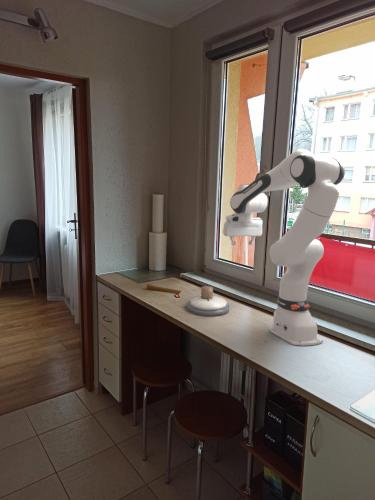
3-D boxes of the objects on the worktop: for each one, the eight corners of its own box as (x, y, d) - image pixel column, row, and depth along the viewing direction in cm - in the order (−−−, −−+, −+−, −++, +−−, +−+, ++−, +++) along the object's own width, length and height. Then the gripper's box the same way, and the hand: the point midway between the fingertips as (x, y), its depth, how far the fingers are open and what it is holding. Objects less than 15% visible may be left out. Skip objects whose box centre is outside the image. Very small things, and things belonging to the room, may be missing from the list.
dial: (222, 298, 186) (223, 286, 185) (229, 310, 169) (230, 296, 168) (188, 298, 184) (189, 285, 183) (193, 310, 167) (193, 296, 166)
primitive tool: (181, 291, 203) (181, 285, 202) (179, 294, 198) (179, 288, 197) (147, 289, 206) (147, 283, 205) (144, 292, 201) (144, 285, 200)
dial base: (235, 314, 170) (236, 310, 170) (194, 317, 165) (194, 312, 164) (220, 300, 189) (220, 296, 189) (182, 303, 184) (182, 298, 183)
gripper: (260, 217, 190) (257, 243, 192) (222, 216, 184) (221, 243, 187) (265, 218, 184) (263, 245, 186) (227, 218, 178) (225, 246, 181)
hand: (242, 244), depth 186 cm, fingers open, 8 cm apart
